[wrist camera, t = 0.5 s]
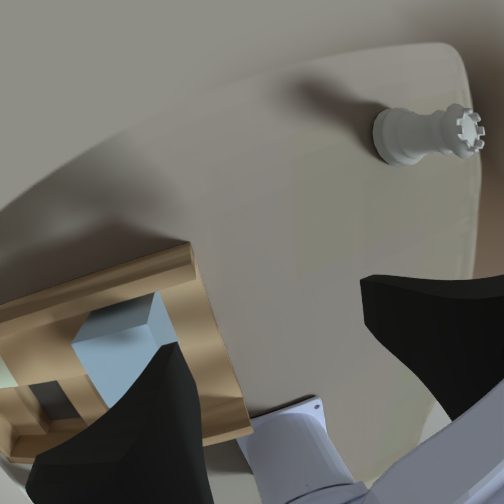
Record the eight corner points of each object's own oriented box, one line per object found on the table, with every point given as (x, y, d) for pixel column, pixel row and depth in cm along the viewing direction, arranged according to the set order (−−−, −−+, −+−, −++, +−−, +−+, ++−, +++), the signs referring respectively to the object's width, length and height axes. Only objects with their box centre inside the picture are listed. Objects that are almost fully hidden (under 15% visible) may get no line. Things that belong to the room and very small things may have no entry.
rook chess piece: (413, 170, 21) (493, 174, 13) (368, 163, 20) (450, 163, 12) (413, 115, 20) (490, 104, 12) (368, 104, 19) (446, 81, 11)
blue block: (179, 342, 18) (180, 393, 13) (122, 357, 18) (108, 408, 13) (156, 284, 17) (146, 323, 12) (96, 303, 16) (70, 344, 12)
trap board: (240, 388, 22) (254, 432, 17) (25, 428, 19) (10, 462, 14) (190, 241, 19) (191, 263, 14) (-41, 320, 16) (-71, 346, 11)
